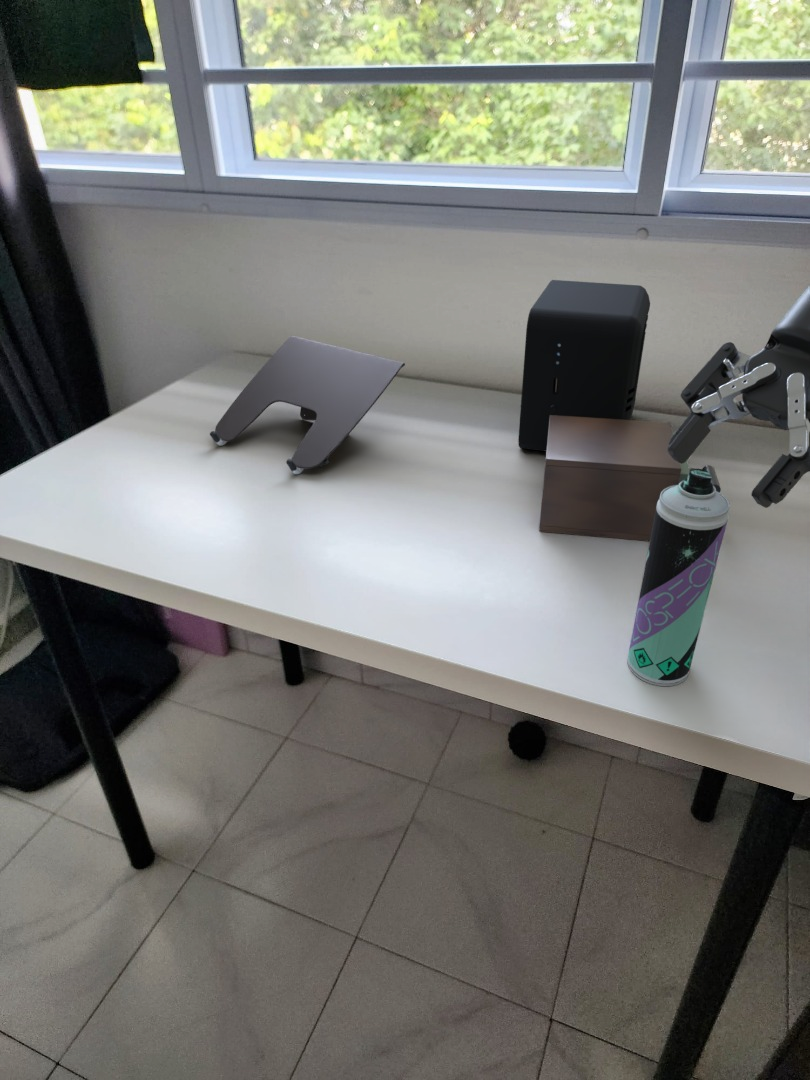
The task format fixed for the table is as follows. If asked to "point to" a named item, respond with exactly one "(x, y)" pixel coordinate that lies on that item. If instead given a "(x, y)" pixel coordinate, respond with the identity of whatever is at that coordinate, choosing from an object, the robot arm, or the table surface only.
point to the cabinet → (605, 476)
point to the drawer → (708, 468)
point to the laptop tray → (312, 395)
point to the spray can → (677, 579)
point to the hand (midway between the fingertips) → (714, 478)
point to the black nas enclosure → (581, 355)
